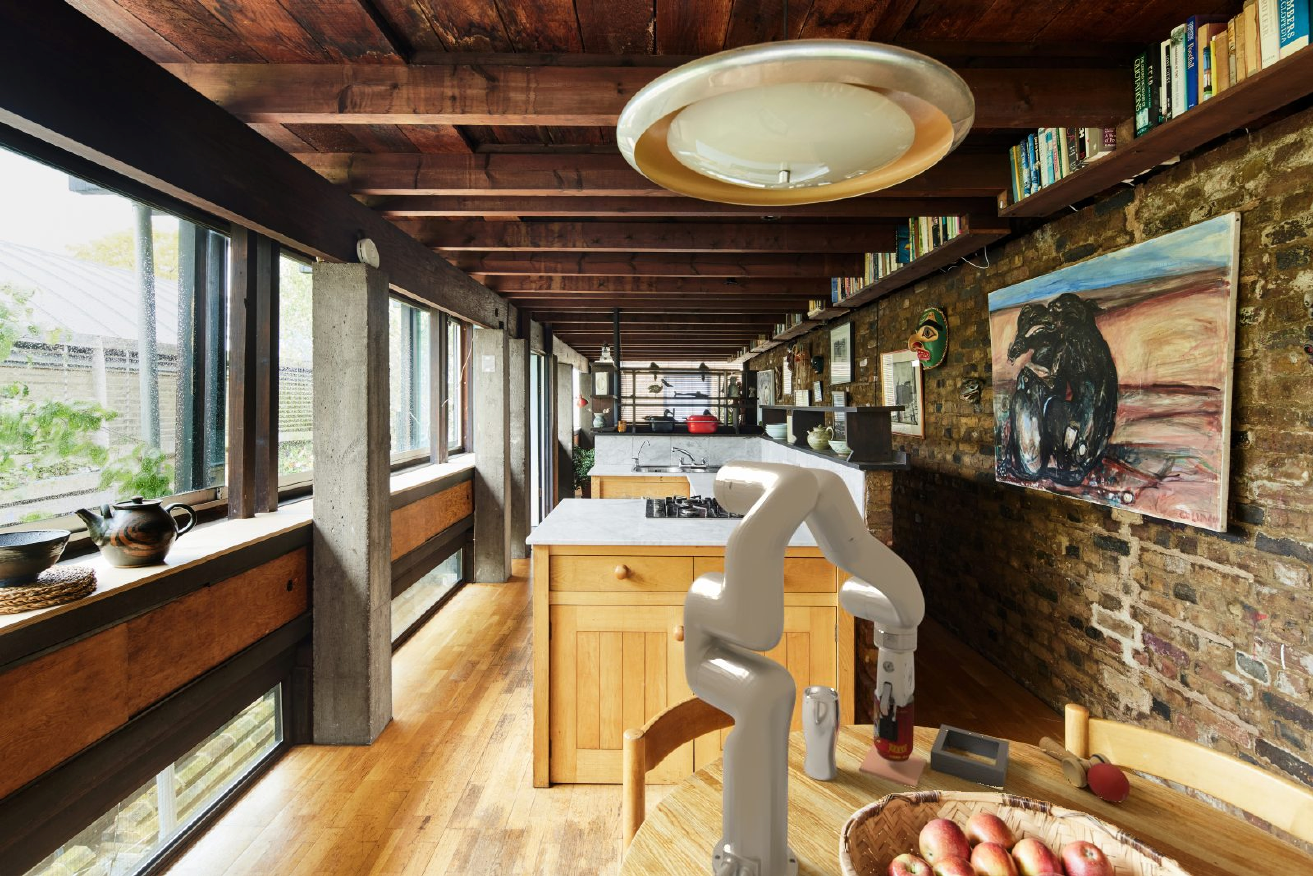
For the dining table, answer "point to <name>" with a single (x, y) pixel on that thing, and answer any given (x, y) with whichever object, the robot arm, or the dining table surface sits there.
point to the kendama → (1090, 772)
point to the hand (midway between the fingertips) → (893, 729)
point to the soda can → (905, 732)
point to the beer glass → (821, 730)
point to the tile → (893, 768)
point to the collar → (967, 766)
